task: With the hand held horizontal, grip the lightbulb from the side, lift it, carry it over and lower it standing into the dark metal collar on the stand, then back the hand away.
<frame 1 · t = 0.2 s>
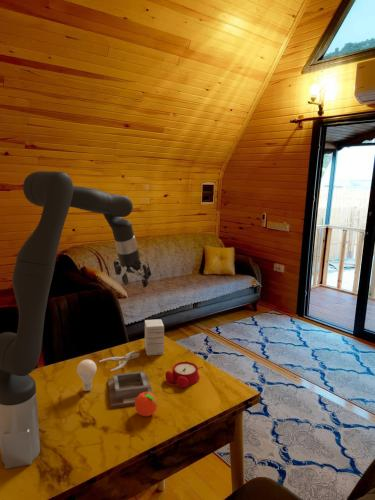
hand: (136, 284, 142), 31 cm above the table, tool tilted 20°, fingers open, 8 cm apart
clementine: (147, 415, 114), on the table
lightbulb: (87, 390, 126), on the table
alarm clock: (182, 380, 134), on the table
supplement box: (154, 351, 155), on the table
socket stand: (130, 391, 126), on the table
pliers: (121, 361, 147), on the table
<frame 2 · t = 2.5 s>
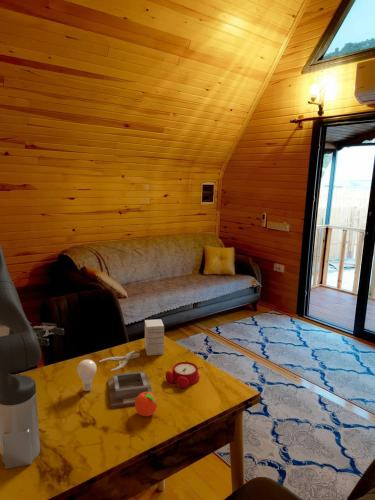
hand: (56, 337, 126), 18 cm above the table, tool horizontal, fingers open, 8 cm apart
nothing on the table moved.
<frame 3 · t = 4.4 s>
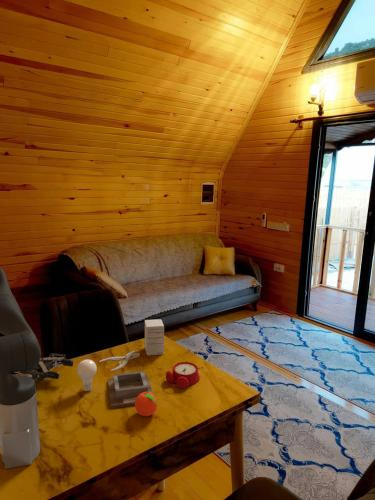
hand: (66, 369, 127), 6 cm above the table, tool horizontal, fingers open, 8 cm apart
nothing on the table moved.
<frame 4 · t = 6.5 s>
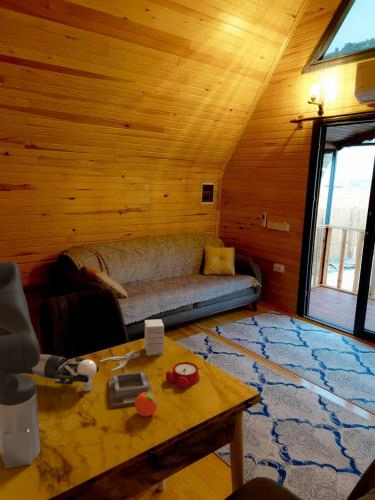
hand: (93, 373, 125), 7 cm above the table, tool horizontal, fingers closed on lightbulb, 6 cm apart
lightbulb: (87, 390, 126), on the table, touching gripper
everything else where it was.
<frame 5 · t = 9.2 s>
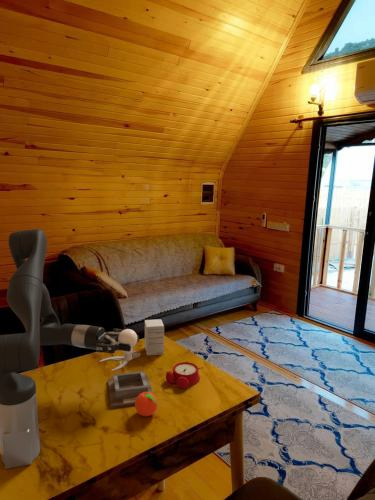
hand: (134, 343, 122), 18 cm above the table, tool horizontal, fingers closed on lightbulb, 6 cm apart
lightbulb: (127, 361, 124), point 11 cm above the table, touching gripper
everything else where it was.
when the fingers open (10 cm above the table, at t = 11.7 s): lightbulb drops 2 cm, resting on socket stand.
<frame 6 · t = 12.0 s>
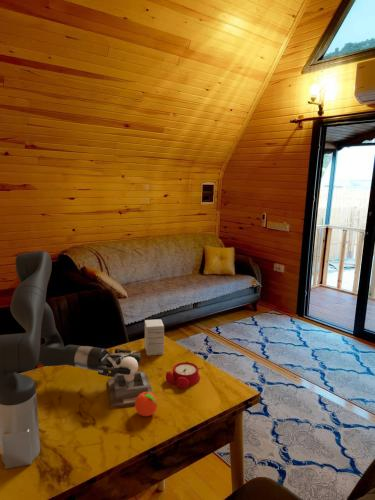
hand: (135, 365, 124), 10 cm above the table, tool horizontal, fingers open, 8 cm apart
lightbulb: (129, 388, 126), point 1 cm above the table, touching socket stand
everything else where it was.
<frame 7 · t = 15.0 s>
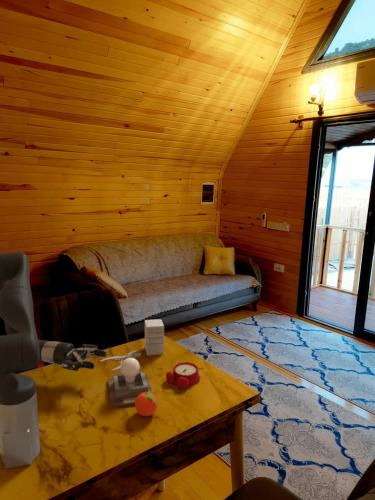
hand: (100, 359, 127), 10 cm above the table, tool horizontal, fingers open, 8 cm apart
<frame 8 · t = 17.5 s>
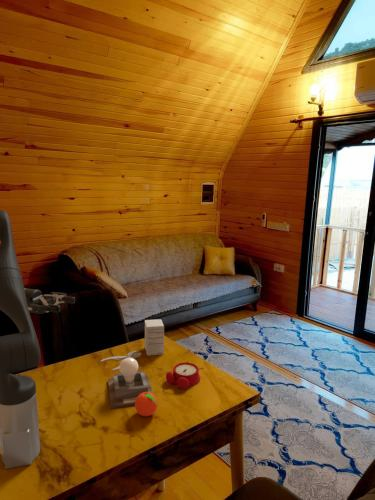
hand: (67, 304, 122), 30 cm above the table, tool horizontal, fingers open, 8 cm apart
nothing on the table moved.
at the end: lightbulb 0.1 cm off-centre on the socket stand, point 0.8 cm above the socket stand's base; lightbulb tilted 2°; the gripper is holding nothing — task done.
